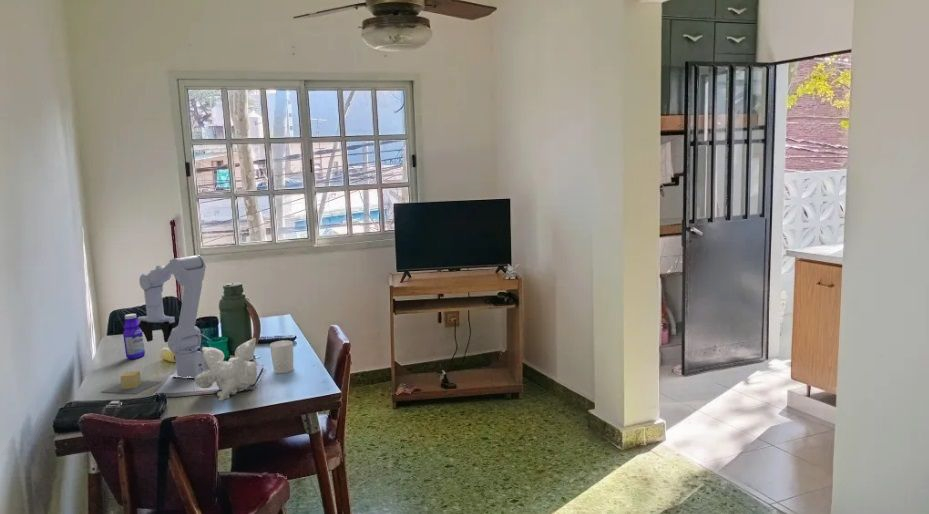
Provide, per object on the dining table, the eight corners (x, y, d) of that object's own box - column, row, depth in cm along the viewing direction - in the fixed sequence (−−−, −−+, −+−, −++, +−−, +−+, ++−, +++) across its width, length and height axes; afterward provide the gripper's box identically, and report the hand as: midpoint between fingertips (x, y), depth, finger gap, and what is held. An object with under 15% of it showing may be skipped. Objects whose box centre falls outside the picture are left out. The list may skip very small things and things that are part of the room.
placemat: (160, 382, 229) (160, 381, 229) (135, 394, 217) (135, 393, 217) (127, 380, 232) (127, 379, 232) (100, 392, 221) (100, 391, 221)
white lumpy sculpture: (268, 349, 230) (251, 332, 212) (268, 407, 222) (250, 394, 204) (213, 356, 229) (192, 339, 211) (211, 413, 221) (188, 401, 203)
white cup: (284, 366, 241) (281, 339, 239) (299, 368, 237) (297, 341, 235) (267, 372, 234) (265, 345, 233) (283, 375, 230) (281, 347, 228)
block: (141, 383, 227) (139, 371, 227) (135, 388, 223) (134, 375, 222) (127, 384, 227) (126, 372, 226) (121, 388, 223) (120, 376, 222)
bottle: (135, 360, 258) (130, 316, 255) (123, 359, 259) (117, 316, 257) (148, 354, 265) (143, 312, 263) (135, 354, 266) (130, 312, 264)
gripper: (178, 303, 244) (182, 338, 245) (145, 302, 247) (149, 338, 249) (165, 307, 237) (169, 344, 239) (131, 307, 240) (136, 343, 242)
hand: (158, 341), depth 243 cm, fingers open, 7 cm apart
